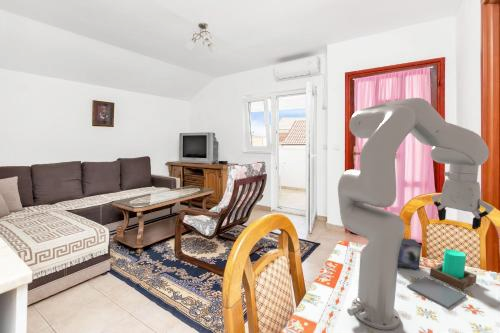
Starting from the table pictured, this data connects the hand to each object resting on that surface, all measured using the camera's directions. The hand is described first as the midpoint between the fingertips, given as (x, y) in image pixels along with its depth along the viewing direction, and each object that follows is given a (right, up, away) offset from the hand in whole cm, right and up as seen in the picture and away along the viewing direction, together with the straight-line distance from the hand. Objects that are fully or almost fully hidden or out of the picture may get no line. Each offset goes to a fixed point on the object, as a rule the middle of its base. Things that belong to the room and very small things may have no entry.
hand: (457, 224), depth 86 cm
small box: (-13, -20, +12) cm, 27 cm away
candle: (0, -21, +2) cm, 22 cm away
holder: (0, -21, +2) cm, 21 cm away
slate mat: (-12, -22, -5) cm, 25 cm away
